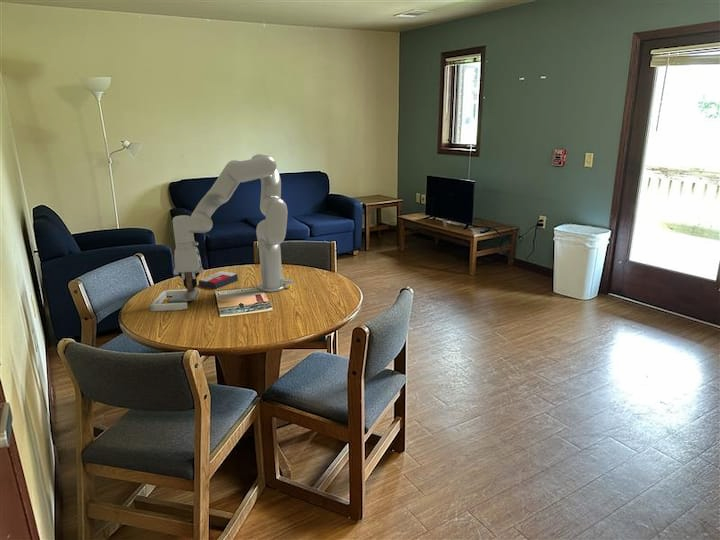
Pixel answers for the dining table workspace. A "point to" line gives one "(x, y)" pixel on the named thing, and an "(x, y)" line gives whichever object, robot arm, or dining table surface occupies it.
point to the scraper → (190, 288)
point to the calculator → (218, 280)
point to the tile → (177, 299)
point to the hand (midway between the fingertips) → (190, 287)
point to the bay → (171, 306)
